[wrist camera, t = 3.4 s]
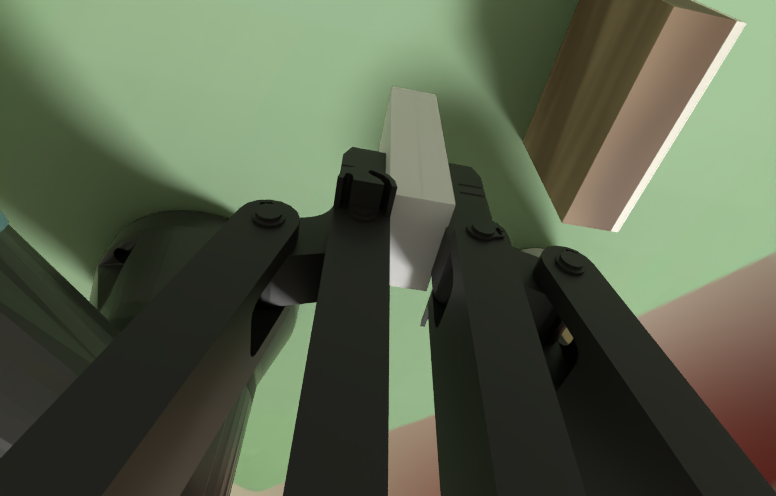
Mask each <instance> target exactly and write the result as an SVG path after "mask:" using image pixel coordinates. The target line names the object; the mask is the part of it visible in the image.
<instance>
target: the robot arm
mask: <svg viewBox="0 0 776 496" xmlns="http://www.w3.org/2000/svg"><path fill="white" fill-rule="evenodd" d="M431 276H432V287H433V289H432V292H431V294H430V297H429V300H428V303H427V306H426V309H425V312H424V315H423V317H422V321H421V325H420V326H424V327H425V324H426V321H427V319H429V334H430V348H431V362H432V377H433V391H434V405H435V419H436V434H437V448H438V463H439V477H440V491H441V496H776V492H775V491H774V489H773V488H772V487H771V486H770V485H769V483H768V482H767V481H766V480H765V478H764V477H763V476H762V475H761V473H760V472H759V471H758V469H757V468H756V467H755V466H754V464H753V463H752V462H751V461H750V459H749V458H748V457H747V456H746V455H745V453H744V452H743V451H742V449H741V448H740V447H739V446H738V444H737V443H736V442H735V441H734V439H733V438H732V437H731V436H730V434H729V433H728V432H727V431H726V429H725V428H724V427H723V426H722V424H721V423H720V422H719V421H718V419H717V418H716V417H715V415H714V414H713V413H712V412H711V410H710V409H709V408H708V407H707V406H706V404H705V403H704V402H703V401H702V399H701V398H700V397H699V396H698V394H697V393H696V392H695V390H694V389H693V388H692V387H691V386H690V384H689V383H688V382H687V380H686V379H685V378H684V377H683V375H682V374H681V373H680V372H679V370H678V369H677V368H676V367H675V365H674V364H673V363H672V362H671V361H670V359H669V358H668V357H667V355H666V354H665V353H664V352H663V350H662V349H661V348H660V347H659V345H658V344H657V343H656V342H655V340H654V339H653V338H652V337H651V335H650V334H649V333H648V332H647V330H646V329H645V328H644V327H643V326H642V324H641V323H640V321H639V320H638V319H637V318H636V316H635V315H634V314H633V313H632V311H631V310H630V309H629V308H628V306H627V305H626V304H625V303H624V301H623V300H622V299H621V298H620V296H619V295H618V294H617V293H616V291H615V290H614V289H613V288H612V286H611V285H610V284H609V283H608V281H607V280H606V279H605V278H604V276H603V275H602V274H601V273H600V271H599V270H598V269H597V268H596V266H595V265H594V264H593V263H592V262H591V261H590V260H589V259H588V258H587V257H585V256H584V255H582V254H581V253H579V252H578V251H576V250H573V249H571V248H567V247H562V246H551V247H547V248H546V249H544V250H543V251H542V253H541V255H540V257H537V256H534V255H531V254H529V253H526V252H523V251H521V250H519V249H516V248H514V247H512V246H511V242H510V239H509V236H508V235H507V233H506V231H505V230H504V229H503V228H502V227H501V226H500V225H499V224H497V223H495V222H493V221H492V218H491V215H490V211H489V207H488V204H487V200H486V198H485V193H484V190H483V185H482V182H481V178H480V177H479V175H478V174H477V173H476V172H475V171H474V170H473V169H472V168H471V167H467V166H461V165H456V164H450V163H448V159H447V154H446V148H445V142H444V137H443V131H442V126H441V120H440V114H439V109H438V103H437V97H436V94H430V93H425V92H420V91H415V90H410V89H405V88H400V87H395V86H392V87H391V91H390V96H389V101H388V106H387V111H386V116H385V121H384V126H383V131H382V136H381V141H380V146H379V151H378V152H377V151H371V150H366V149H360V148H355V147H352V148H350V149H349V150H348V151H347V152H346V153H344V154H343V159H342V165H341V171H340V174H339V176H338V179H337V186H336V193H335V199H334V206H333V207H332V208H331V209H330V210H329V211H328V212H326V213H324V214H322V215H319V216H315V217H305V218H299V215H298V212H297V211H296V210H295V209H294V208H292V207H291V206H289V205H287V204H285V203H283V202H280V201H274V200H256V201H253V202H249V203H247V204H245V205H244V206H242V207H241V208H239V209H238V211H237V212H236V213H235V214H234V215H233V216H232V217H231V218H230V219H226V218H223V217H219V216H215V215H211V214H206V213H201V212H192V211H169V212H162V213H157V214H152V215H149V216H146V217H143V218H141V219H138V220H136V221H134V222H133V223H131V224H129V225H128V226H127V227H125V228H124V229H123V230H122V231H121V232H120V233H119V234H118V235H117V236H116V237H115V239H114V240H113V242H112V243H111V244H110V246H109V247H108V248H107V250H106V251H105V252H104V254H103V255H102V257H101V259H100V261H99V263H98V265H97V268H96V271H95V275H94V280H93V286H92V291H91V296H90V301H88V300H87V299H86V298H85V297H84V296H83V295H82V294H81V293H80V292H79V291H77V290H76V289H75V288H74V287H73V286H72V285H71V284H70V283H69V282H68V281H67V280H66V279H65V278H64V277H63V276H62V275H61V274H60V273H59V272H58V271H57V270H56V269H55V268H54V267H53V266H51V265H50V264H49V263H48V262H47V261H46V260H45V259H44V258H43V257H42V256H41V255H40V254H39V253H38V252H37V251H36V250H35V249H34V248H33V247H32V246H31V245H30V244H29V243H28V242H27V241H25V240H24V239H23V238H22V237H21V236H20V235H19V234H18V233H17V232H16V231H15V230H14V229H13V228H12V227H11V226H10V225H9V221H8V220H7V218H6V217H5V216H4V214H3V213H2V212H1V211H0V496H230V492H231V488H232V484H233V480H234V476H235V472H236V468H237V463H238V459H239V455H240V451H241V447H242V443H243V438H244V434H245V430H246V426H247V422H248V418H249V414H250V410H251V406H252V402H253V398H254V394H255V391H256V387H257V385H258V383H259V382H260V380H261V379H262V377H263V376H264V374H265V373H266V371H267V370H268V369H269V367H270V366H271V364H272V363H273V361H274V360H275V358H276V357H277V355H278V354H279V353H280V351H281V350H282V348H283V347H284V345H285V344H286V342H287V341H288V339H289V338H290V336H291V334H292V332H293V329H294V327H295V323H296V319H297V314H298V309H299V304H304V303H313V302H317V304H316V309H315V315H314V321H313V327H312V332H311V338H310V344H309V349H308V355H307V361H306V367H305V372H304V378H303V384H302V390H301V395H300V401H299V407H298V412H297V418H296V424H295V430H294V435H293V441H292V447H291V452H290V458H289V464H288V470H287V475H286V481H285V487H284V493H283V496H388V416H389V304H390V286H396V287H402V288H409V289H416V290H422V291H427V288H428V285H429V282H430V279H431ZM565 328H567V329H568V331H569V332H570V334H571V335H572V337H573V339H572V341H571V342H570V343H569V344H568V343H567V342H566V340H565V339H564V338H563V336H562V333H563V332H564V330H565Z"/></svg>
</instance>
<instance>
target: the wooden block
mask: <svg viewBox="0 0 776 496" xmlns="http://www.w3.org/2000/svg"><path fill="white" fill-rule="evenodd" d="M746 24H747V23H745V22H743V21H741V20H738V19H736V18H734V17H732V16H729V15H727V14H725V13H722V12H720V11H718V10H716V9H713V8H711V7H709V6H706V5H704V4H702V3H699V2H697V1H695V0H580V1H579V3H578V6H577V8H576V11H575V13H574V16H573V18H572V21H571V23H570V26H569V28H568V31H567V33H566V36H565V38H564V41H563V43H562V46H561V48H560V51H559V53H558V55H557V58H556V60H555V63H554V65H553V68H552V70H551V73H550V75H549V78H548V80H547V83H546V85H545V88H544V90H543V93H542V95H541V98H540V100H539V103H538V105H537V108H536V110H535V113H534V115H533V118H532V120H531V123H530V125H529V128H528V130H527V133H526V135H525V138H524V140H523V143H524V145H525V148H526V150H527V152H528V154H529V156H530V158H531V160H532V162H533V164H534V166H535V168H536V170H537V172H538V174H539V176H540V178H541V181H542V183H543V185H544V187H545V189H546V191H547V193H548V195H549V197H550V199H551V201H552V203H553V205H554V207H555V209H556V211H557V214H558V216H559V218H560V220H561V222H562V223H565V224H571V225H577V226H583V227H589V228H595V229H601V230H607V231H613V232H618V231H619V230H620V228H621V226H622V225H623V223H624V222H625V220H626V218H627V217H628V215H629V214H630V212H631V210H632V209H633V207H634V205H635V204H636V202H637V201H638V199H639V197H640V196H641V194H642V192H643V191H644V189H645V188H646V186H647V184H648V183H649V181H650V179H651V178H652V176H653V175H654V173H655V171H656V170H657V168H658V166H659V165H660V163H661V162H662V160H663V158H664V157H665V155H666V153H667V152H668V150H669V149H670V147H671V145H672V144H673V142H674V140H675V139H676V137H677V136H678V134H679V132H680V131H681V129H682V127H683V126H684V124H685V123H686V121H687V119H688V118H689V116H690V114H691V113H692V111H693V110H694V108H695V106H696V105H697V103H698V102H699V100H700V98H701V97H702V95H703V93H704V92H705V90H706V89H707V87H708V85H709V84H710V82H711V80H712V79H713V77H714V76H715V74H716V72H717V71H718V69H719V67H720V66H721V64H722V63H723V61H724V59H725V58H726V56H727V54H728V53H729V51H730V50H731V48H732V46H733V45H734V43H735V41H736V40H737V38H738V37H739V35H740V33H741V32H742V30H743V28H744V27H745V25H746Z"/></svg>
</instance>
